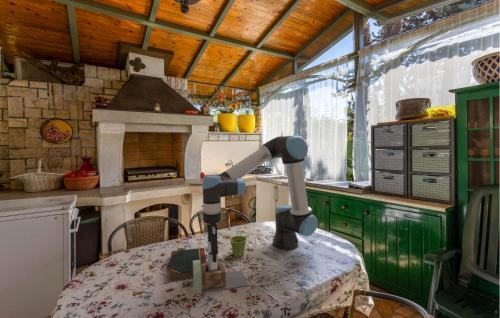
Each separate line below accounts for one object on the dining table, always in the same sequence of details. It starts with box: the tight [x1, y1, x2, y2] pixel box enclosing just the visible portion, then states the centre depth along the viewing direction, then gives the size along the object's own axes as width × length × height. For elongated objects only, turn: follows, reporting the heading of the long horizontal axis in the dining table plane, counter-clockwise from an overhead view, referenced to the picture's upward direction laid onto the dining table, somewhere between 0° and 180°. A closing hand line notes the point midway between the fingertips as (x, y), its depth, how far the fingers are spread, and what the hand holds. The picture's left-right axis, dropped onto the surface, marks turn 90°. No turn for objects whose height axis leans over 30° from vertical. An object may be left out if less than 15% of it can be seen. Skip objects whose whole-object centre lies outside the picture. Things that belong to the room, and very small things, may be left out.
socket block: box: [200, 260, 226, 289], centre depth 108 cm, size 10×10×6 cm
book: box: [168, 247, 208, 281], centre depth 123 cm, size 17×4×25 cm
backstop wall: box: [192, 260, 202, 294], centre depth 106 cm, size 3×12×8 cm, turn 15°
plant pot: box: [228, 235, 248, 258], centre depth 135 cm, size 9×9×9 cm
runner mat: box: [201, 270, 249, 294], centre depth 109 cm, size 20×13×1 cm, turn 105°
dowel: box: [207, 251, 218, 272], centre depth 107 cm, size 4×4×12 cm
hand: (212, 262), depth 107 cm, fingers open, 11 cm apart
